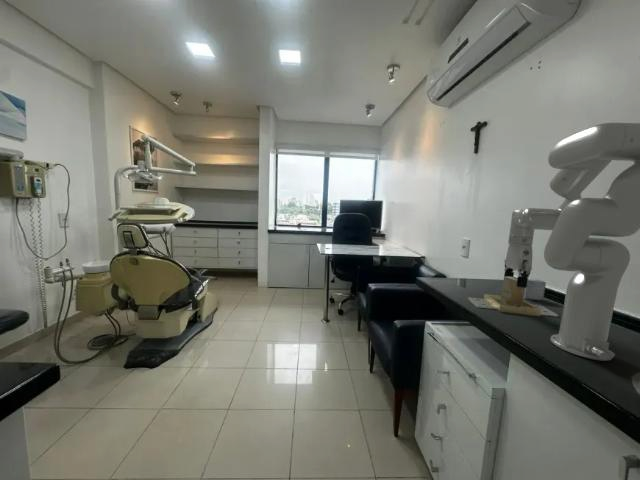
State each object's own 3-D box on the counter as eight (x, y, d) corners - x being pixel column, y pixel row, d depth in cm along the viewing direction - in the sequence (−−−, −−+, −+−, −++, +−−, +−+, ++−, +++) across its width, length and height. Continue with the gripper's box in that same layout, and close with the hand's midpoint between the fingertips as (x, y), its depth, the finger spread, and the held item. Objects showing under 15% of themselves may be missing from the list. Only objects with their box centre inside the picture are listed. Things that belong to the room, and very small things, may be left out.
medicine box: (536, 297, 123) (539, 279, 122) (543, 300, 119) (546, 281, 118) (518, 295, 124) (521, 277, 123) (524, 299, 120) (527, 280, 119)
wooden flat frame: (561, 318, 98) (562, 312, 97) (479, 309, 103) (479, 302, 102) (538, 305, 111) (539, 299, 111) (466, 297, 116) (467, 292, 116)
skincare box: (498, 305, 109) (503, 276, 107) (506, 304, 110) (511, 276, 109) (514, 311, 103) (519, 280, 101) (522, 310, 104) (527, 280, 103)
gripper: (545, 244, 94) (538, 291, 96) (518, 240, 111) (513, 280, 113) (522, 242, 96) (515, 288, 97) (499, 238, 113) (494, 278, 114)
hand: (514, 284), depth 105 cm, fingers open, 9 cm apart
